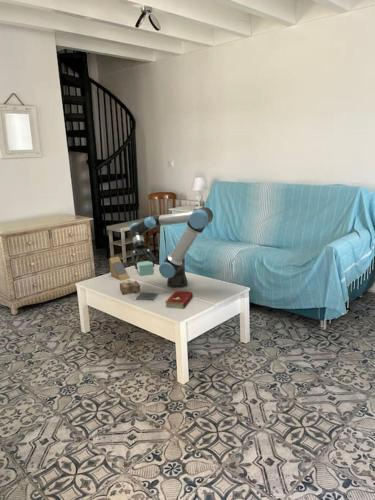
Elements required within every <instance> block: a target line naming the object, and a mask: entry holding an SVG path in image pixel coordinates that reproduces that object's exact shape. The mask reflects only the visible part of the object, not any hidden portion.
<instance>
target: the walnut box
mask: <svg viewBox="0 0 375 500" xmlns="http://www.w3.org/2000/svg"><path fill="white" fill-rule="evenodd" d="M119 290H120V292H121V293H122V295H129V294H137V293H141V284H140V283H139V282H138V281H137V280H134V279H126V280H123V282H119Z"/></svg>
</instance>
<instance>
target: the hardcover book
mask: <svg viewBox="0 0 375 500" xmlns="http://www.w3.org/2000/svg"><path fill="white" fill-rule="evenodd" d="M193 298H194V292H193V291H187V290H178V289H177V290H175V291H173V293H172V294H171V295H170V296H169V297H168V298H167V299H166V300H165V301H164V303H165V307H166V308H173V307H174V308H173V309H176V308H177V309H185V308H186V306H187V305H188V303H189V302H190V301H191V300H192V299H193ZM190 299H191V300H190Z"/></svg>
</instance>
